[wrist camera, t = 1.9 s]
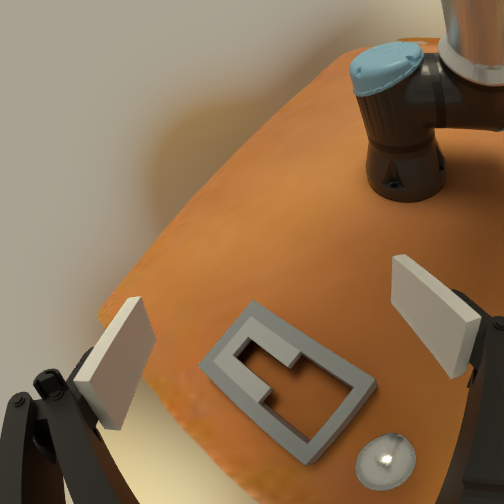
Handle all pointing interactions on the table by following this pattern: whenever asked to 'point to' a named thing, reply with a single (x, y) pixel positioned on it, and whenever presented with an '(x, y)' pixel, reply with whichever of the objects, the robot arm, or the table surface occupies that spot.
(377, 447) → the steel peg
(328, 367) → the keyhole plate
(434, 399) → the table surface
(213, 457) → the table surface
